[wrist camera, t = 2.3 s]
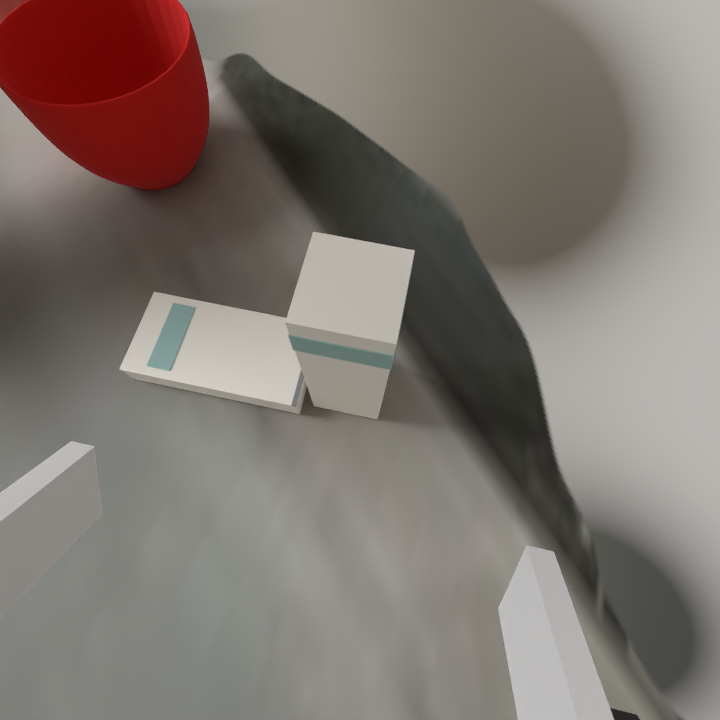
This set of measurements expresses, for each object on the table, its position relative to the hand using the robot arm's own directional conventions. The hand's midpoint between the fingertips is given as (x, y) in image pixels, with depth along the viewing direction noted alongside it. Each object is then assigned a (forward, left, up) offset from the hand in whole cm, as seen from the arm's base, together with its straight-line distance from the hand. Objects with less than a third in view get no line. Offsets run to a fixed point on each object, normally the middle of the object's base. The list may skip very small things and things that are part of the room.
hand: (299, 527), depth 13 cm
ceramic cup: (-35, +4, -15) cm, 38 cm away
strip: (-13, 0, -14) cm, 20 cm away
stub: (-7, +6, -14) cm, 17 cm away
